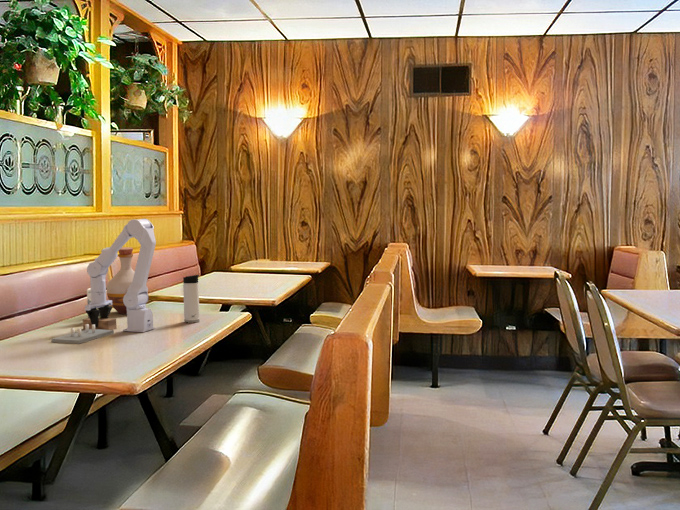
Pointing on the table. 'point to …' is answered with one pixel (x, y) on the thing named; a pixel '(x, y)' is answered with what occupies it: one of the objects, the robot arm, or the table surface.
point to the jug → (121, 281)
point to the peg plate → (82, 335)
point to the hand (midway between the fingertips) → (99, 325)
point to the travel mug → (191, 299)
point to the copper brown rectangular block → (101, 324)
